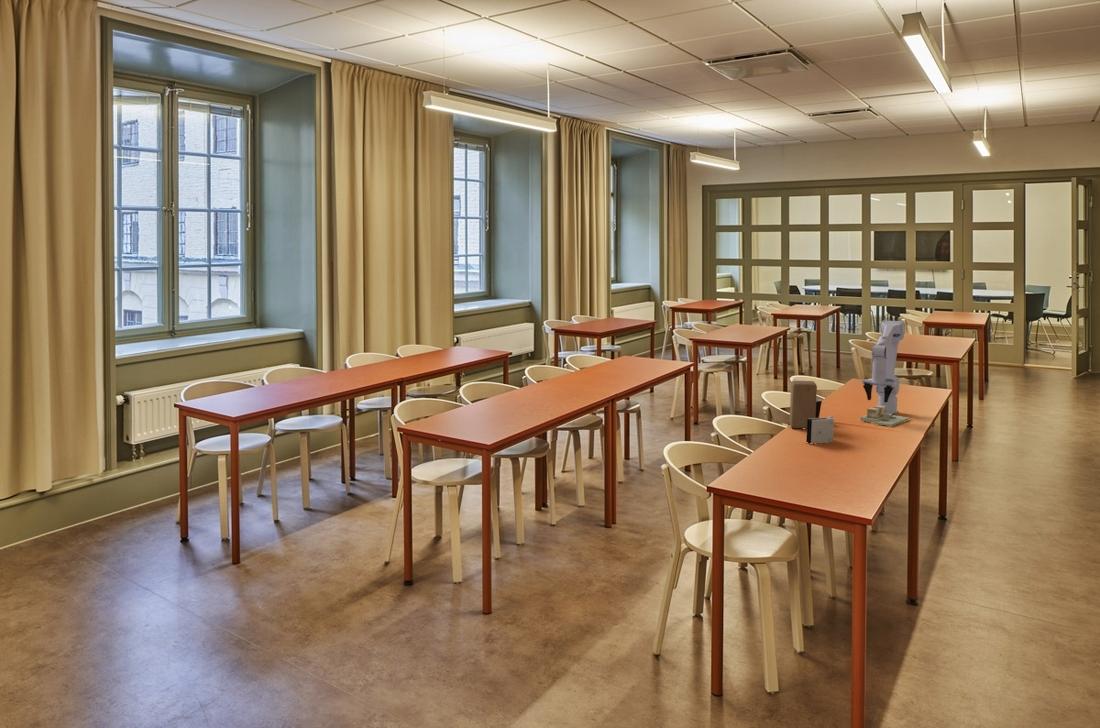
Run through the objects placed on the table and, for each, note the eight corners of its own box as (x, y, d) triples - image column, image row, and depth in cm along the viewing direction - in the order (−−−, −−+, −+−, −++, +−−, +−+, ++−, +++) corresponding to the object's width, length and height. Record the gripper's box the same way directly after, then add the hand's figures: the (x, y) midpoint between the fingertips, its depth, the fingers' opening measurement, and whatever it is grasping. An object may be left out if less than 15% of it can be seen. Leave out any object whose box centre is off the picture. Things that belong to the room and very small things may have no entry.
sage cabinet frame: (877, 415, 384) (877, 411, 383) (909, 420, 373) (909, 415, 373) (858, 422, 370) (859, 417, 369) (890, 427, 359) (891, 422, 359)
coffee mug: (823, 423, 367) (824, 401, 366) (804, 423, 368) (805, 401, 366) (815, 417, 379) (816, 396, 378) (796, 417, 379) (797, 396, 378)
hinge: (830, 439, 337) (831, 415, 336) (840, 442, 333) (841, 418, 331) (804, 443, 331) (805, 418, 330) (813, 446, 327) (815, 421, 325)
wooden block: (815, 430, 354) (817, 384, 351) (791, 429, 356) (793, 383, 353) (812, 425, 364) (814, 380, 361) (789, 424, 366) (791, 380, 363)
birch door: (877, 417, 379) (878, 405, 378) (885, 419, 377) (886, 406, 376) (866, 421, 371) (867, 408, 370) (874, 423, 368) (875, 410, 367)
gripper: (859, 370, 373) (858, 400, 375) (891, 374, 363) (889, 404, 365) (866, 369, 378) (864, 398, 380) (898, 372, 368) (896, 402, 370)
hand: (877, 401), depth 373 cm, fingers open, 7 cm apart
